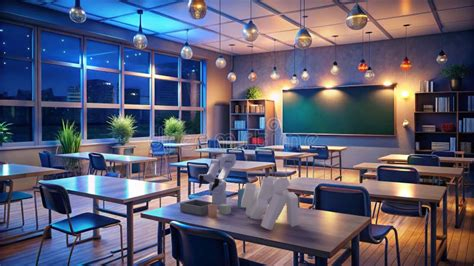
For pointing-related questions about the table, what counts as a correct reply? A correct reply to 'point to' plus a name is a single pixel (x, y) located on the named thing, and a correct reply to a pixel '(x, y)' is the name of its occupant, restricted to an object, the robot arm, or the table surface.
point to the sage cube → (224, 209)
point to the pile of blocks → (270, 201)
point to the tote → (195, 207)
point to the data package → (240, 197)
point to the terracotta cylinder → (212, 210)
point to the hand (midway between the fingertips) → (205, 188)
